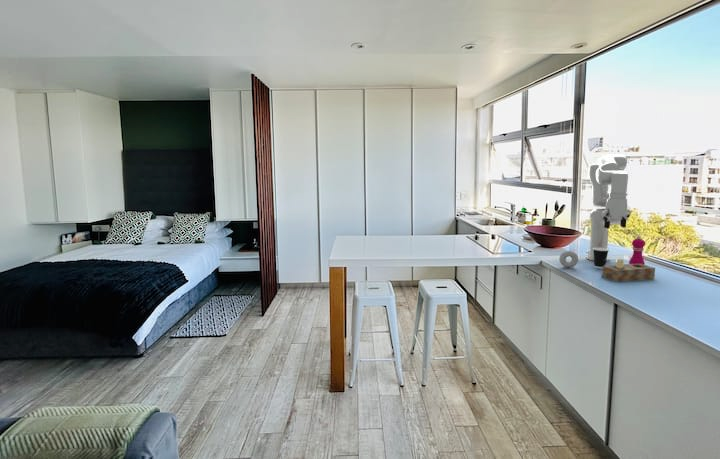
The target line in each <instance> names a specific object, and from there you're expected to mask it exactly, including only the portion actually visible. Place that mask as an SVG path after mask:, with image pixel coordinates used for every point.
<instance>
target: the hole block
mask: <svg viewBox="0 0 720 459" xmlns="http://www.w3.org/2000/svg"><path fill="white" fill-rule="evenodd" d="M655 274H656V267H653V266H650V265H646V264H645V265H644V264H640V263H637V264H629V263H623V269H618V268H616V264H607V265H605V266H603V269H602V274H601V277H602V278H604V279H608V280H610V281H612V280H613V282H615V281H616V282H615V283H618V282H619V281H622V282H635V280H636V281H645V280H646V281H647V280H655ZM619 283H620V282H619Z"/></svg>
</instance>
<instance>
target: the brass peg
mask: <svg viewBox="0 0 720 459" xmlns="http://www.w3.org/2000/svg"><path fill="white" fill-rule="evenodd" d="M615 263H616V264H615V265H616V268H618V269H623V264H624V259H619V258H618V259H616V262H615Z"/></svg>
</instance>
